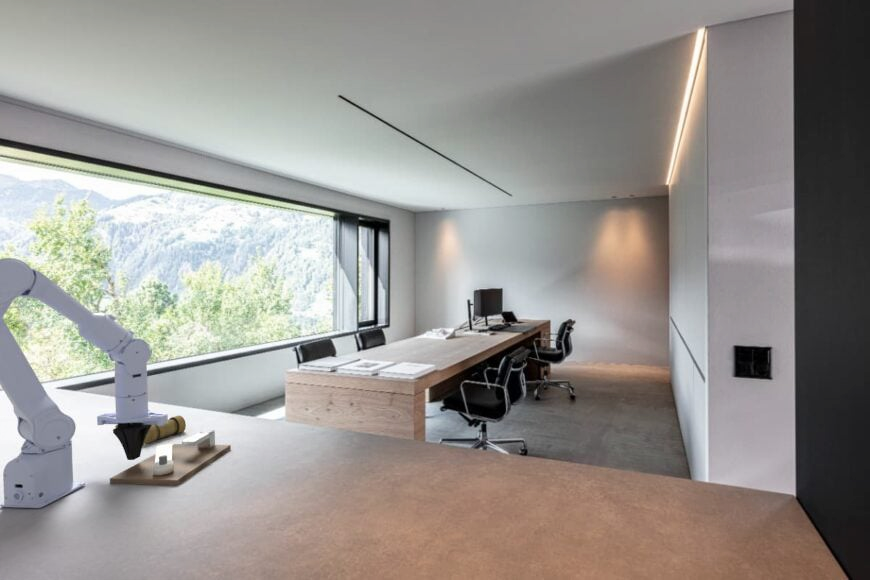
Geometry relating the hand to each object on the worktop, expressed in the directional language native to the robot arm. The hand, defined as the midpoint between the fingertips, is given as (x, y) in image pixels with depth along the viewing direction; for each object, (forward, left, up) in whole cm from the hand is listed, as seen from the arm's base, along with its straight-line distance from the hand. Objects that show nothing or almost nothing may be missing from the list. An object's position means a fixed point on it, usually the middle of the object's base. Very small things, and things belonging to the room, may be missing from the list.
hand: (133, 458), depth 97 cm
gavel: (+22, +15, -3) cm, 27 cm away
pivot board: (+2, -8, -2) cm, 8 cm away
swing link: (0, -7, -1) cm, 7 cm away
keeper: (+7, -10, -1) cm, 12 cm away
